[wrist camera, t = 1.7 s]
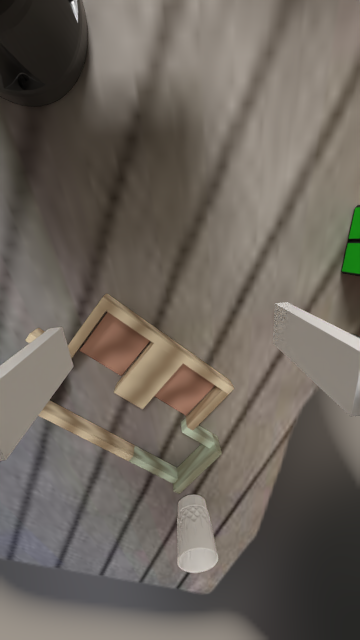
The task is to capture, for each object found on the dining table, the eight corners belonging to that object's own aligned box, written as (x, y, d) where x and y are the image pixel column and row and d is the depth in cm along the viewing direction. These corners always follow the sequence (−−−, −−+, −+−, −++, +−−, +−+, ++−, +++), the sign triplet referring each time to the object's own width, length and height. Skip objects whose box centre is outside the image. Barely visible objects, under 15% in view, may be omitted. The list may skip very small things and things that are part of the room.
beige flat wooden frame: (2, 383, 40) (-16, 397, 36) (75, 271, 34) (64, 274, 31) (178, 474, 49) (179, 494, 46) (256, 398, 44) (264, 413, 40)
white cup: (170, 497, 52) (171, 554, 42) (203, 488, 51) (212, 543, 42) (180, 518, 54) (184, 577, 45) (212, 510, 54) (222, 566, 44)
